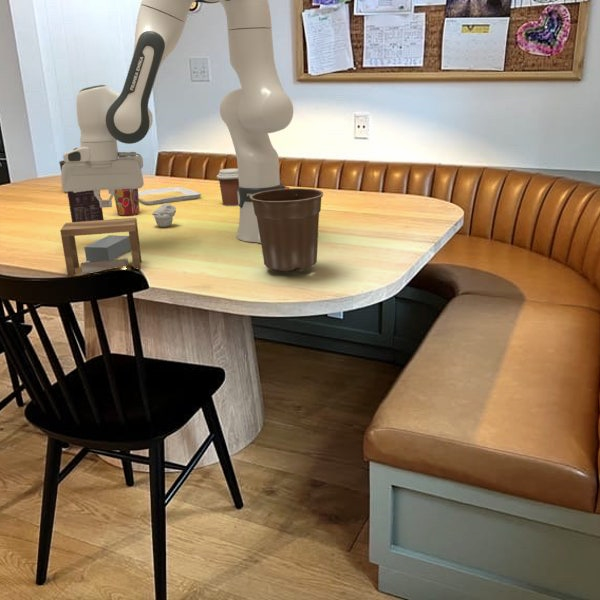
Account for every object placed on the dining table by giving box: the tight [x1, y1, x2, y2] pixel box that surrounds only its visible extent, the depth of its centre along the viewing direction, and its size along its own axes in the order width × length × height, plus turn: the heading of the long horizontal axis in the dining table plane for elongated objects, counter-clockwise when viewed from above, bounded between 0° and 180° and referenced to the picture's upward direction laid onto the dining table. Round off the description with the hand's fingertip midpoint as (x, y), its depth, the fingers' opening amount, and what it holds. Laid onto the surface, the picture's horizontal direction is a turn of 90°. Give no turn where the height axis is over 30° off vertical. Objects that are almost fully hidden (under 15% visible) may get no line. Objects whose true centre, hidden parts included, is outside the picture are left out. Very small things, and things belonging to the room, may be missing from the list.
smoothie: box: [113, 188, 140, 217], centre depth 201 cm, size 8×8×20 cm
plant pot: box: [250, 187, 324, 272], centre depth 143 cm, size 16×16×16 cm
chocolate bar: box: [66, 190, 105, 222], centre depth 181 cm, size 9×1×18 cm, turn 131°
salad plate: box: [138, 186, 202, 206], centre depth 229 cm, size 21×21×3 cm
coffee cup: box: [216, 168, 239, 207], centre depth 214 cm, size 9×9×12 cm
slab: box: [84, 234, 131, 262], centre depth 158 cm, size 12×6×4 cm, turn 167°
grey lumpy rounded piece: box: [151, 202, 177, 228], centre depth 186 cm, size 6×7×7 cm
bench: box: [59, 217, 143, 277], centre depth 146 cm, size 8×16×10 cm, turn 101°
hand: (106, 207), depth 165 cm, fingers closed
